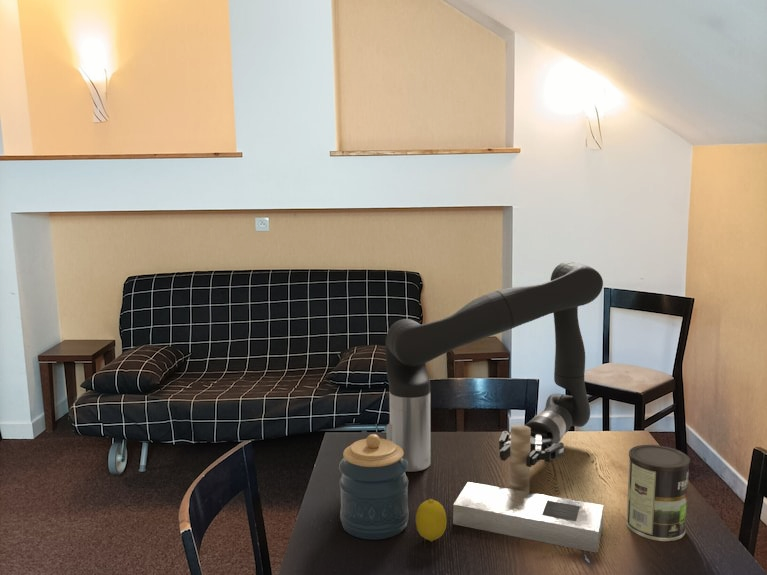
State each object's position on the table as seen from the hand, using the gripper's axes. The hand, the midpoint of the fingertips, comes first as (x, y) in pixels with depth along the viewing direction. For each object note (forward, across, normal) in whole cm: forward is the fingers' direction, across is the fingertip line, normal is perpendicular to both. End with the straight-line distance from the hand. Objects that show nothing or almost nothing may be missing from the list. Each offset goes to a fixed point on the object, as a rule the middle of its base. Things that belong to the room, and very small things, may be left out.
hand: (515, 459), depth 132 cm
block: (+8, +6, +8) cm, 13 cm away
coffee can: (-3, +26, +9) cm, 28 cm away
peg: (-3, 0, +8) cm, 9 cm away
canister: (+23, -19, +9) cm, 31 cm away
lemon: (+23, -7, +9) cm, 25 cm away
